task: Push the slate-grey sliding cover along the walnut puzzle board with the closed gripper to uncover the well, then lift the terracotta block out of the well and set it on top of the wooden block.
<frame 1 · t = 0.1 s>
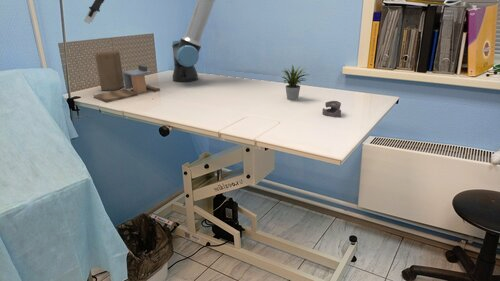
hand: (87, 21, 180), 36 cm above the table, tool tilted 35°, fingers open, 13 cm apart
dental mold: (333, 115, 151), on the table
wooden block: (113, 88, 201), on the table
puzzle board: (127, 94, 188), on the table
sliding cover: (137, 78, 190), point 7 cm above the table, slide at 0.0 cm
terracotta block: (139, 91, 193), on the table
house plant: (291, 100, 173), on the table
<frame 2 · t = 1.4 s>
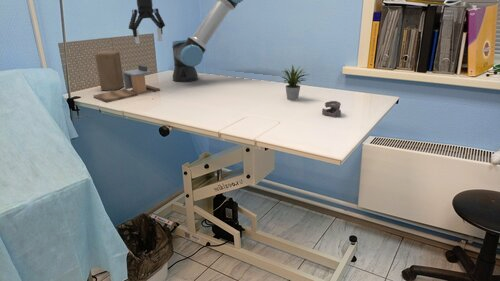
hand: (149, 42, 190), 25 cm above the table, tool pointing down, fingers open, 13 cm apart
nothing on the table moved.
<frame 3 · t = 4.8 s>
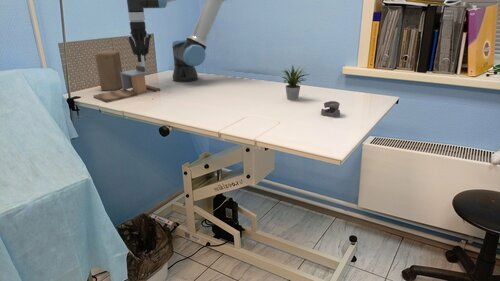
hand: (142, 67, 191), 12 cm above the table, tool pointing down, fingers closed
sliding cover: (135, 78, 189), point 7 cm above the table, slide at 1.4 cm, touching gripper
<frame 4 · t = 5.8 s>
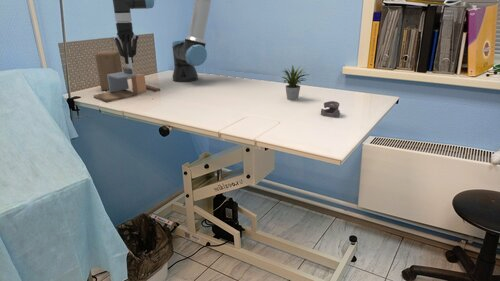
hand: (130, 70, 186), 12 cm above the table, tool pointing down, fingers closed
sliding cover: (122, 80, 184), point 7 cm above the table, slide at 8.7 cm, touching gripper
everything else where it was.
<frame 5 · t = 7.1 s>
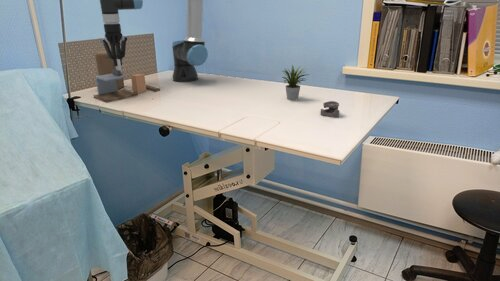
hand: (119, 72, 182), 12 cm above the table, tool pointing down, fingers closed
sliding cover: (111, 82, 180), point 7 cm above the table, slide at 14.8 cm, touching gripper
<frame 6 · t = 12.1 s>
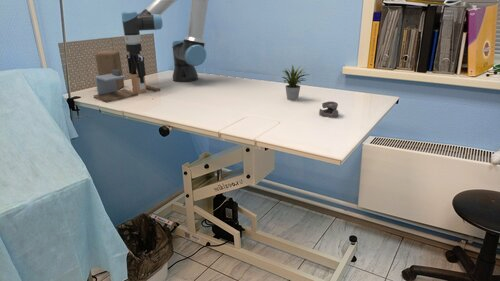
hand: (139, 88, 192), 2 cm above the table, tool pointing down, fingers closed on terracotta block, 5 cm apart
sliding cover: (111, 83, 180), point 7 cm above the table, slide at 15.0 cm
terracotta block: (139, 91, 193), on the table, touching gripper
when the fingers open (23 cm above the table, at t = 17.5 s): terracotta block drops 1 cm, resting on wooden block.
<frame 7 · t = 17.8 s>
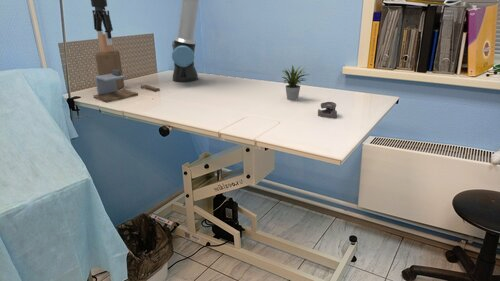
hand: (105, 44, 191), 24 cm above the table, tool pointing down, fingers open, 8 cm apart
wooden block: (113, 88, 201), on the table, touching terracotta block
terracotta block: (107, 51, 193), point 20 cm above the table, touching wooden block
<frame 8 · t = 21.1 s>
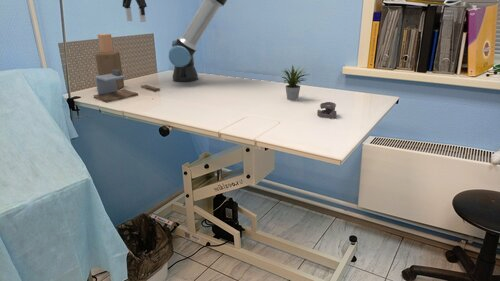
hand: (136, 21, 192), 35 cm above the table, tool pointing down, fingers open, 13 cm apart
at the end: sliding cover slide at 15.0 cm; terracotta block inside the target area on the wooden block (0.1 cm from its centre), point 20.2 cm above the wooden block's base; terracotta block tilted 0° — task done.
